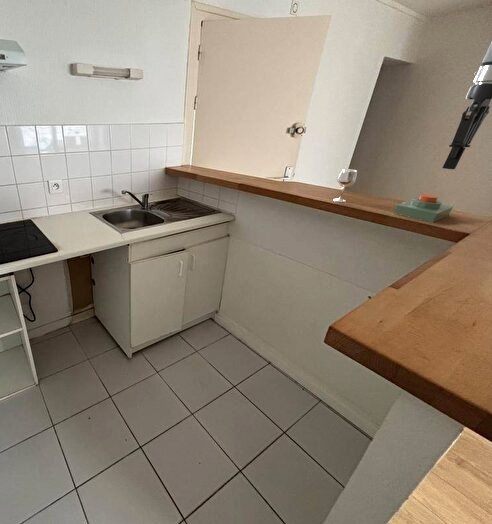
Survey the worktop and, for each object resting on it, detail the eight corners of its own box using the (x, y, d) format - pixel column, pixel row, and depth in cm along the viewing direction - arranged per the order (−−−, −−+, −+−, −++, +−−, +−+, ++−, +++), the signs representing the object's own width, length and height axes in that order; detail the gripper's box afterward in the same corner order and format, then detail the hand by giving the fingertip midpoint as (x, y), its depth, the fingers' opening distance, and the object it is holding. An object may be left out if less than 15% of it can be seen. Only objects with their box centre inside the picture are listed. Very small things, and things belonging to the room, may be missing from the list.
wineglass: (335, 202, 112) (346, 171, 106) (328, 198, 117) (338, 168, 111) (350, 202, 112) (362, 171, 106) (342, 198, 117) (353, 168, 111)
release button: (421, 199, 100) (424, 193, 99) (437, 202, 97) (440, 196, 96) (416, 201, 98) (418, 195, 97) (432, 204, 95) (435, 198, 94)
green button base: (410, 207, 107) (416, 194, 104) (448, 215, 99) (456, 201, 96) (392, 213, 101) (399, 199, 98) (432, 222, 92) (440, 208, 90)
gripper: (479, 84, 86) (441, 164, 97) (464, 83, 80) (425, 169, 92) (516, 82, 80) (471, 168, 92) (503, 81, 75) (456, 172, 86)
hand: (448, 168), depth 92 cm, fingers closed
